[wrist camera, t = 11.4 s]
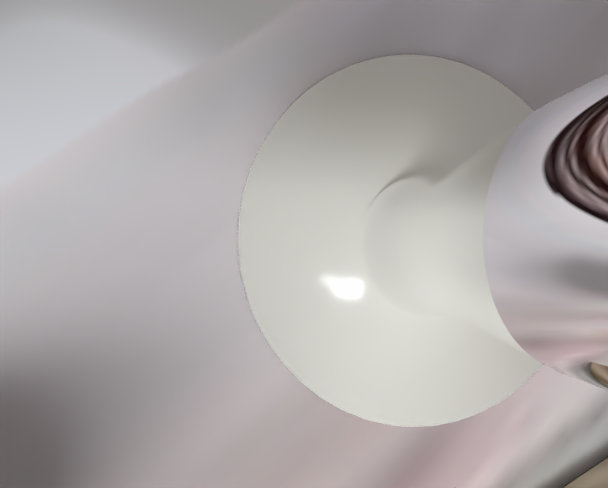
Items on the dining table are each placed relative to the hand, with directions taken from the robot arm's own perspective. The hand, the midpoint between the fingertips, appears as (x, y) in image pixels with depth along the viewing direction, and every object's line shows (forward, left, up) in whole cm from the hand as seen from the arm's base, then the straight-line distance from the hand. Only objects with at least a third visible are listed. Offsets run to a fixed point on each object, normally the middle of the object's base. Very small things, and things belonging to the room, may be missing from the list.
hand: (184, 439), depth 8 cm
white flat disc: (+10, -1, -11) cm, 15 cm away
